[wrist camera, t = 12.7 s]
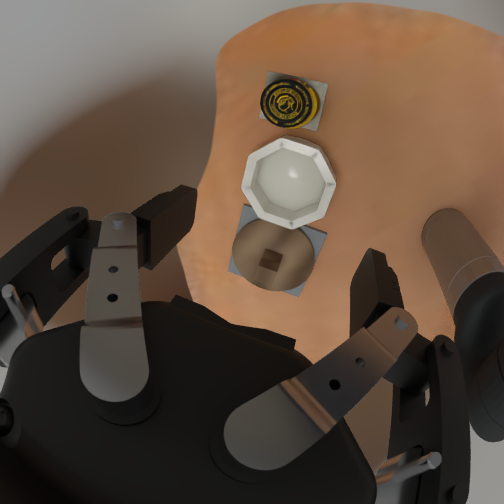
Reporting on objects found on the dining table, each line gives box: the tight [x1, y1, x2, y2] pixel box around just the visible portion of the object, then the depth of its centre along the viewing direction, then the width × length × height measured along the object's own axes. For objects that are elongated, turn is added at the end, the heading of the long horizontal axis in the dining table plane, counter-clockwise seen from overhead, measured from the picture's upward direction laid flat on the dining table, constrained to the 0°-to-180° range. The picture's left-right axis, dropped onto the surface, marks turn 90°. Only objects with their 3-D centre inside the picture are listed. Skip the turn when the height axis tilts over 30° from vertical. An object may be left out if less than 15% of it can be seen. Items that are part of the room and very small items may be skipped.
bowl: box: [241, 135, 336, 230], centre depth 37 cm, size 12×12×5 cm
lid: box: [232, 218, 315, 291], centre depth 44 cm, size 14×14×6 cm
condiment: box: [259, 71, 328, 132], centre depth 28 cm, size 7×8×12 cm
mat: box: [228, 204, 327, 297], centre depth 47 cm, size 14×14×1 cm
